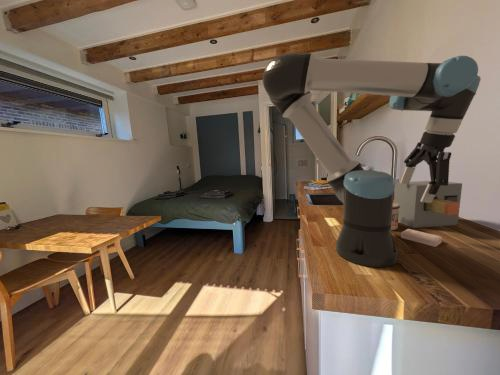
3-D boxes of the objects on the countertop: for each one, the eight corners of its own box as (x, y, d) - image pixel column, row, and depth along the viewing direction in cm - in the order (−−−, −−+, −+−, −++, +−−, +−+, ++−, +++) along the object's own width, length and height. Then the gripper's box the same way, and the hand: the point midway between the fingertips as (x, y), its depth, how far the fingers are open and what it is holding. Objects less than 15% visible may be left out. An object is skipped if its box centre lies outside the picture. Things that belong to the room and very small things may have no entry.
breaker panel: (414, 228, 75) (417, 186, 72) (392, 219, 85) (395, 182, 83) (458, 225, 76) (463, 183, 74) (432, 217, 86) (435, 180, 84)
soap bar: (435, 248, 60) (436, 240, 59) (400, 238, 67) (400, 231, 67) (441, 243, 62) (442, 236, 62) (407, 234, 70) (407, 228, 70)
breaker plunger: (447, 215, 66) (448, 203, 66) (420, 207, 76) (420, 197, 76) (458, 214, 67) (459, 202, 66) (429, 207, 77) (430, 197, 76)
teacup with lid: (393, 232, 71) (395, 200, 70) (366, 226, 78) (367, 197, 77) (404, 224, 79) (406, 195, 77) (378, 219, 86) (379, 193, 84)
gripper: (489, 142, 50) (450, 212, 59) (429, 126, 72) (408, 178, 81) (453, 140, 51) (421, 209, 60) (406, 125, 74) (388, 177, 83)
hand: (413, 193), depth 71 cm, fingers open, 14 cm apart
